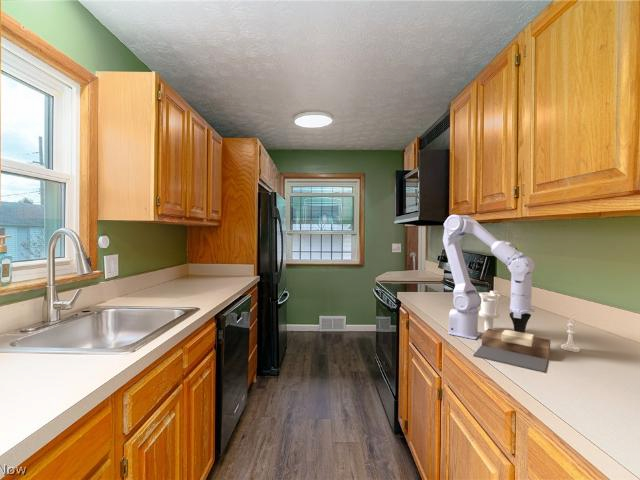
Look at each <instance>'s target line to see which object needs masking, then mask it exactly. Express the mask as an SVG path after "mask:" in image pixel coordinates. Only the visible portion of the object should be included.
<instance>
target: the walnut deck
mask: <svg viewBox="0 0 640 480" xmlns="http://www.w3.org/2000/svg"><path fill="white" fill-rule="evenodd" d="M503 331H504V330H498V329H494V328H493V329H488V330H487V331H486V330H485V332H484V333H483V334H482V335H481V345H482V346H487V347H492V348H496V349H501V350H506V351H510V352H515V353H520V354H525V355H529V356H534V357H539V358H544V359H548V360H549V357H550V353H551V339H549V338H542V337H537V336H534V338H533V344H532V347H530V346H525V345H520V344H514V343H509V342H504V341H501V334H502V333H503Z"/></svg>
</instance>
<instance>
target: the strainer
mask: <svg viewBox="0 0 640 480" xmlns="http://www.w3.org/2000/svg"><path fill="white" fill-rule="evenodd" d="M478 294H479V295H480V297H481V304H480V310H478V316H480V317H483V318H484V326H483V327H484V328H483V329H484V331H485V332H486V331H487V330H488V329H493V330H494V319H499V318H500V313H499V299H501V294H499V293H498V290H489V292H478Z"/></svg>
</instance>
